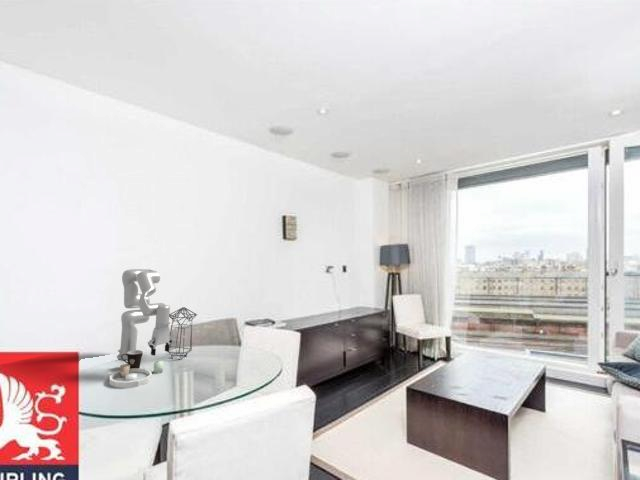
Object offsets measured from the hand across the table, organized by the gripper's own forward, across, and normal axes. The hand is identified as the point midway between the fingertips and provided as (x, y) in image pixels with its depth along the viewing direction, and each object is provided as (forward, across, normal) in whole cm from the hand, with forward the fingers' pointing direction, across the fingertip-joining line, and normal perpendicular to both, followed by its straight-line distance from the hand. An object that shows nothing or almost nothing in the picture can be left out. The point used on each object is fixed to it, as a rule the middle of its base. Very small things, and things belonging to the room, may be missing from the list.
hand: (160, 353), depth 210 cm
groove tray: (+12, +17, -2) cm, 21 cm away
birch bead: (+11, +17, -8) cm, 22 cm away
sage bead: (+12, 0, -1) cm, 12 cm away
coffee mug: (+12, +5, -19) cm, 23 cm away
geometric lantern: (+12, -27, -14) cm, 33 cm away
